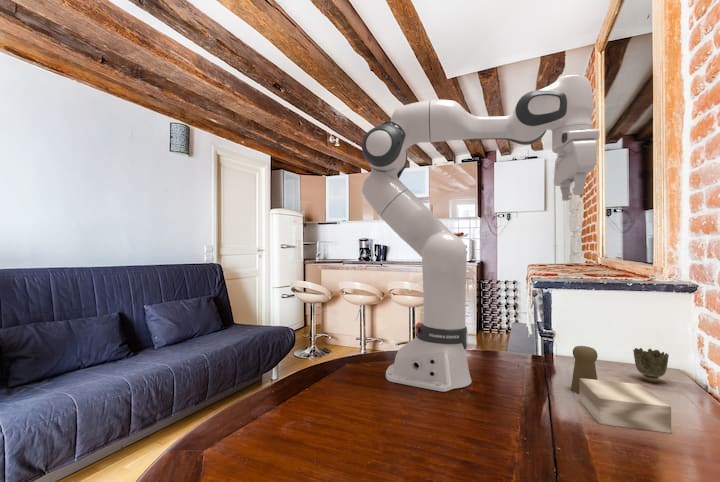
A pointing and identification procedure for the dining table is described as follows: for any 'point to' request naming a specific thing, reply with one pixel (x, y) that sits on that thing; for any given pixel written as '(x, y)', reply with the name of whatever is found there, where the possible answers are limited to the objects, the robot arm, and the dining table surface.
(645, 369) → the cup
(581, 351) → the cork
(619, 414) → the plinth
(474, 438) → the dining table surface
